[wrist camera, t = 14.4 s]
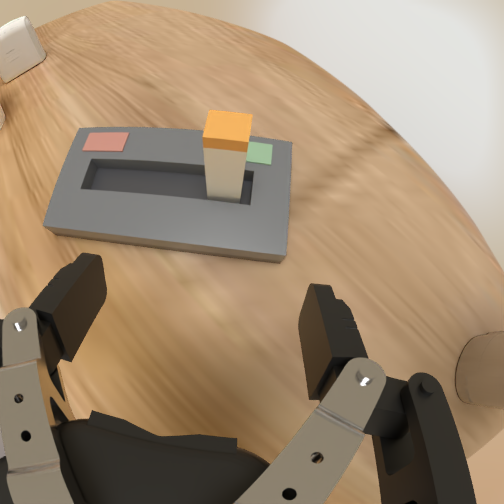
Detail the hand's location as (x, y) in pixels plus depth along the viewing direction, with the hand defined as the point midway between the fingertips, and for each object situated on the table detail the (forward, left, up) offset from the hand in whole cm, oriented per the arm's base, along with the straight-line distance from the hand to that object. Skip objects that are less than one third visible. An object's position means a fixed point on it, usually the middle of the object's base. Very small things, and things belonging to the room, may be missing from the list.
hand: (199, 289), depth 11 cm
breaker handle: (-5, -10, -15) cm, 19 cm away
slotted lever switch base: (0, -13, -16) cm, 21 cm away
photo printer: (+20, -54, -16) cm, 60 cm away
